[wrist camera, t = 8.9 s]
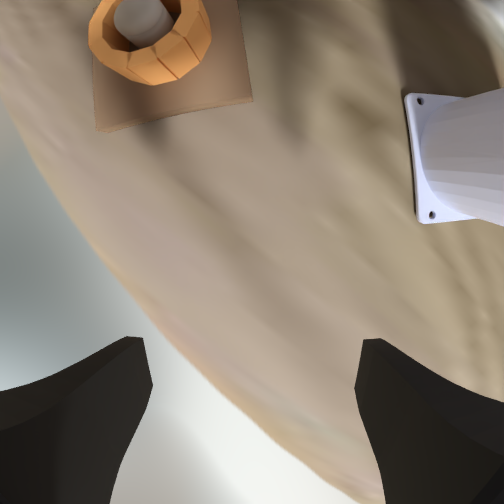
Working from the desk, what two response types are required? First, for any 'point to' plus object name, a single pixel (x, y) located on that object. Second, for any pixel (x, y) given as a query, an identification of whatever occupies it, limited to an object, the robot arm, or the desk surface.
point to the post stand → (184, 89)
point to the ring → (158, 55)
